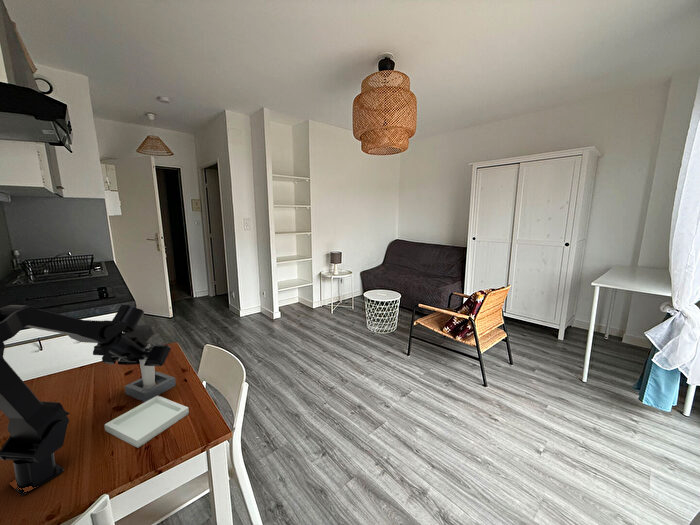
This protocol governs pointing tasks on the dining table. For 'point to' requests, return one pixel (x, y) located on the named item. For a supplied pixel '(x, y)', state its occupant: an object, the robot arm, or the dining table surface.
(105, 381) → the dining table surface
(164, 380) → the bottle collar
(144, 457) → the dining table surface
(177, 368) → the dining table surface
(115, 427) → the tray
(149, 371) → the perfume bottle
